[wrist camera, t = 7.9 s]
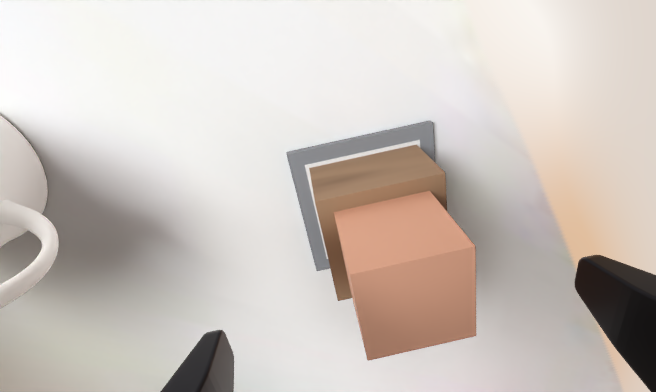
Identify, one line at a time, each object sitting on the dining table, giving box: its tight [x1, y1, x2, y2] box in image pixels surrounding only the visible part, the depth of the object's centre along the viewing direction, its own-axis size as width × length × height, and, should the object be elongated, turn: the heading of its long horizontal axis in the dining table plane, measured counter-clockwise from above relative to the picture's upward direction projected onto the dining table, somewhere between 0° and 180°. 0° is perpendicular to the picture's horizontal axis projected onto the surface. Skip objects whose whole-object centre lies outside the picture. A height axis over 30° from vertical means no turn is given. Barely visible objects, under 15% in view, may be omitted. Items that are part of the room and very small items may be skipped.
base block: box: [309, 144, 447, 301], centre depth 20 cm, size 6×6×4 cm
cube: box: [334, 191, 476, 360], centre depth 16 cm, size 4×4×4 cm
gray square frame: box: [287, 121, 435, 271], centre depth 22 cm, size 8×8×1 cm
